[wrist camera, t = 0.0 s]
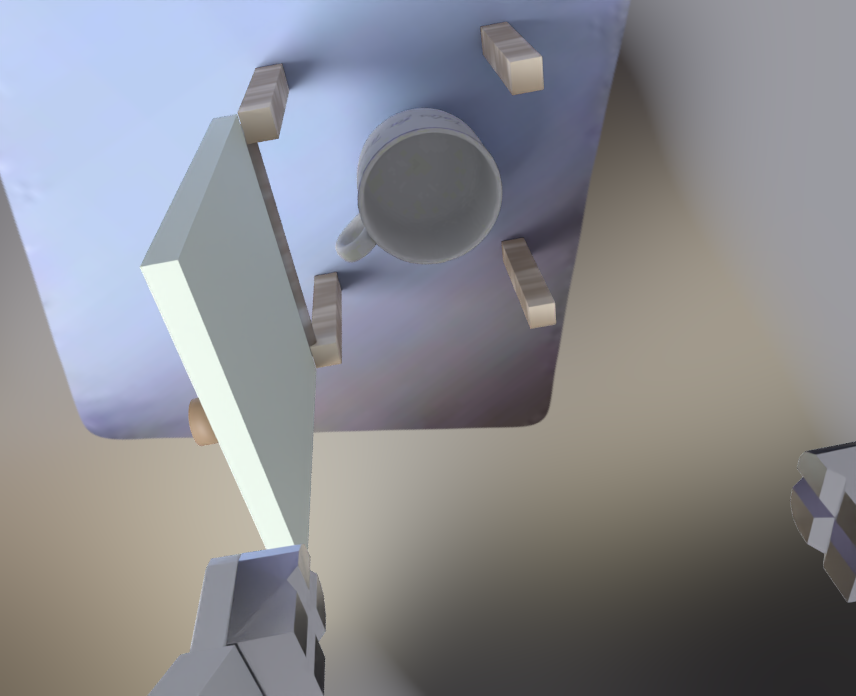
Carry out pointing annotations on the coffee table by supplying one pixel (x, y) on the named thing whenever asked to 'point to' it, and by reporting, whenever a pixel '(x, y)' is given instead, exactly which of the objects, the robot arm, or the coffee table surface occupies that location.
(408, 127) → the teacup
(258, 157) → the stand
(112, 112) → the coffee table surface
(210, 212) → the lid
